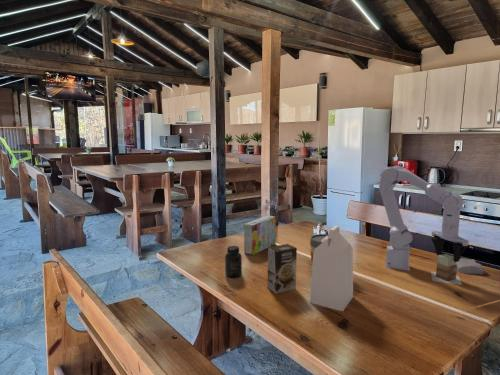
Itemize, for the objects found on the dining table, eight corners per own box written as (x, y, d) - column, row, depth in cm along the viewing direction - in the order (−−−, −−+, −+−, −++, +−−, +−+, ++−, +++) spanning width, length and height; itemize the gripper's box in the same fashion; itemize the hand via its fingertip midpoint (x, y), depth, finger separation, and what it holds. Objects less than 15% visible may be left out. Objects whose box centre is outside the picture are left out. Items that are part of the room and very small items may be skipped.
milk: (342, 311, 114) (345, 234, 111) (309, 302, 121) (311, 229, 117) (353, 297, 125) (356, 226, 121) (322, 289, 131) (324, 221, 127)
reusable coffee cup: (345, 272, 146) (346, 237, 144) (329, 281, 137) (331, 245, 135) (319, 264, 155) (320, 232, 153) (303, 273, 146) (304, 238, 144)
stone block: (459, 278, 145) (486, 275, 143) (457, 267, 144) (484, 264, 142) (449, 269, 156) (473, 266, 154) (447, 258, 156) (471, 255, 154)
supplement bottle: (244, 273, 145) (244, 246, 143) (237, 280, 139) (236, 251, 137) (230, 271, 148) (229, 244, 146) (222, 277, 142) (221, 248, 140)
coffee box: (275, 294, 127) (276, 251, 124) (267, 287, 132) (267, 246, 130) (296, 289, 131) (297, 247, 128) (287, 282, 137) (287, 243, 134)
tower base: (446, 281, 136) (447, 274, 136) (435, 276, 141) (436, 269, 140) (456, 279, 138) (456, 272, 138) (444, 274, 143) (445, 267, 142)
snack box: (267, 242, 187) (267, 215, 185) (276, 244, 184) (276, 216, 182) (243, 253, 170) (243, 223, 168) (252, 255, 167) (252, 225, 165)
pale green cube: (447, 266, 135) (447, 259, 135) (437, 262, 140) (437, 255, 139) (455, 264, 137) (456, 257, 137) (445, 261, 141) (446, 253, 141)
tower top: (447, 274, 136) (448, 266, 135) (436, 269, 140) (437, 262, 140) (456, 272, 138) (457, 264, 137) (445, 267, 142) (445, 260, 142)
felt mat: (432, 281, 137) (432, 280, 137) (430, 272, 146) (430, 271, 146) (462, 286, 133) (462, 284, 133) (458, 276, 142) (458, 275, 142)
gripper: (475, 228, 131) (472, 262, 133) (441, 219, 144) (438, 251, 146) (462, 230, 128) (459, 265, 130) (428, 221, 142) (426, 253, 144)
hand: (447, 258), depth 138 cm, fingers open, 7 cm apart
